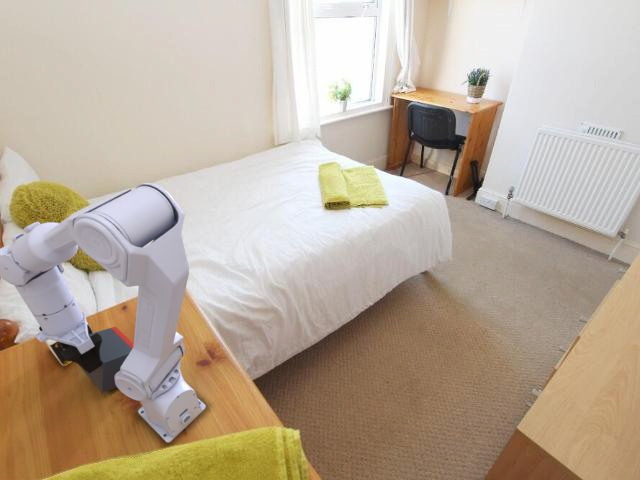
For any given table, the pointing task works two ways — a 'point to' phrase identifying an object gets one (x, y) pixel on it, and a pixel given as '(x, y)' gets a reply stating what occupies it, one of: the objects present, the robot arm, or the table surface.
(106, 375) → the grey and red box
